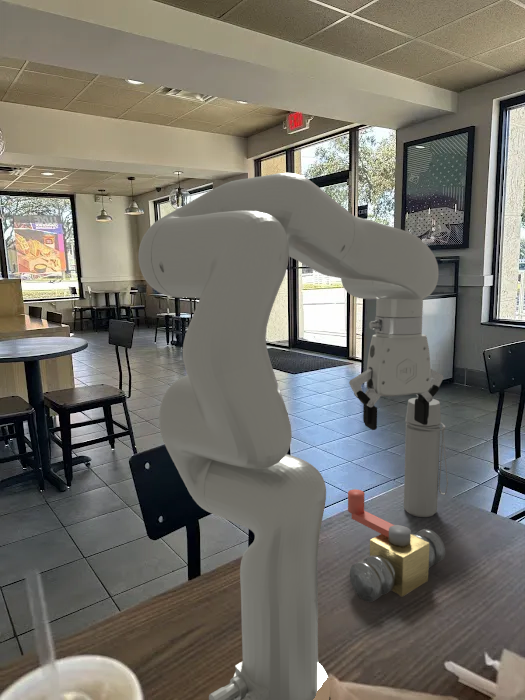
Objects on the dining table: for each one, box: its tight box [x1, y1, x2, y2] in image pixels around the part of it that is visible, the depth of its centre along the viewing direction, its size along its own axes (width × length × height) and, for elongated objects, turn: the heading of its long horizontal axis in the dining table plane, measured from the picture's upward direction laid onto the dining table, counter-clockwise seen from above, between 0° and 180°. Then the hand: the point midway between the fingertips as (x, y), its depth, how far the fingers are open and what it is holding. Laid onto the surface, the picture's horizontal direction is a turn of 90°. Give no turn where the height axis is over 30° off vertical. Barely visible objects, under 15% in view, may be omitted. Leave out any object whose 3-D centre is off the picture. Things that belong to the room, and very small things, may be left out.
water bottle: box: [403, 397, 449, 518], centre depth 110 cm, size 9×8×25 cm
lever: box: [347, 488, 412, 546], centre depth 90 cm, size 13×4×5 cm, turn 37°
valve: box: [349, 528, 446, 603], centre depth 87 cm, size 18×7×7 cm, turn 127°
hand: (396, 425), depth 88 cm, fingers open, 9 cm apart
